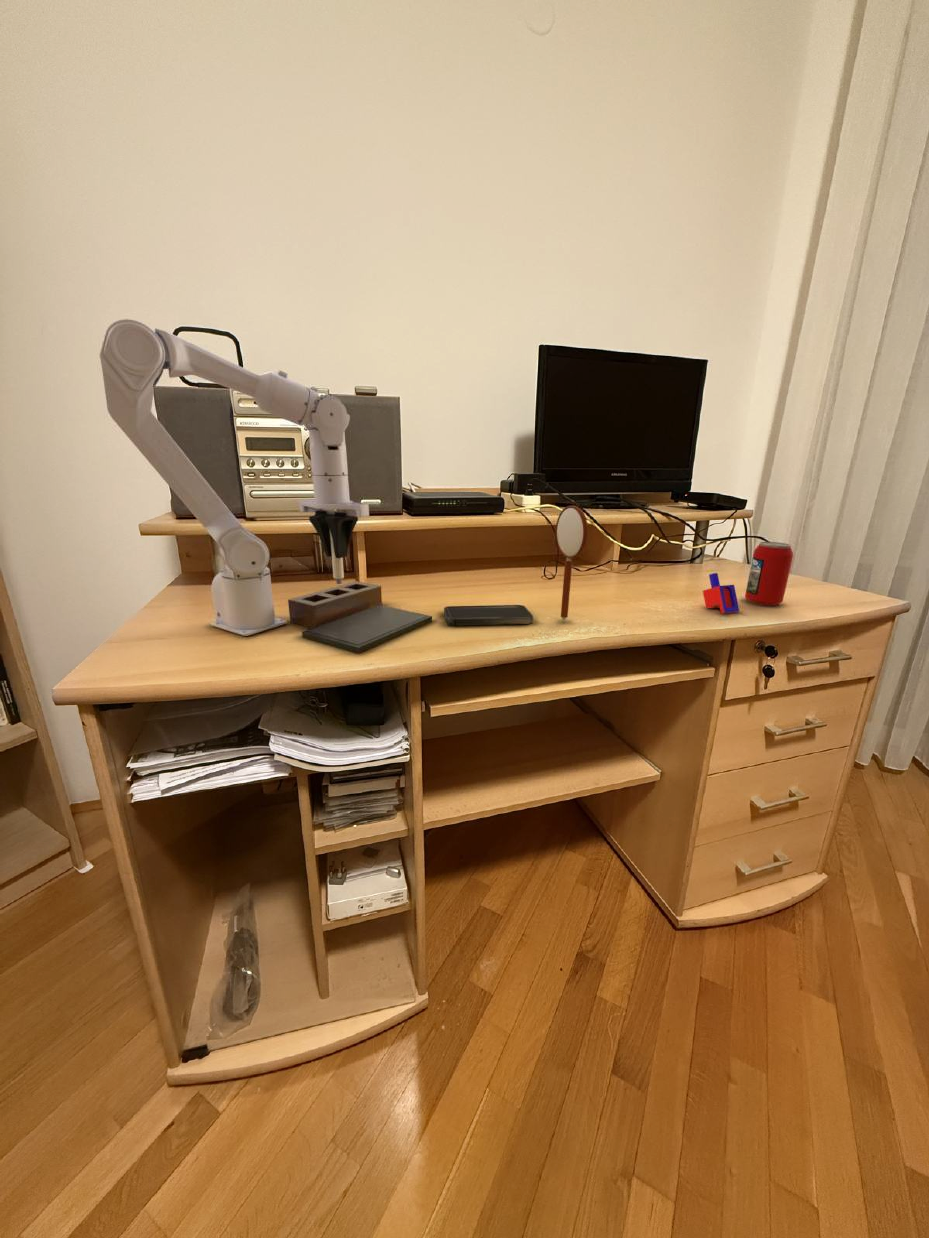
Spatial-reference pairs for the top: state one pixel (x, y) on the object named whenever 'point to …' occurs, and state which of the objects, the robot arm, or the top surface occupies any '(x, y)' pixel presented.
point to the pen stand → (333, 603)
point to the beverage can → (769, 573)
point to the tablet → (367, 628)
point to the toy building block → (721, 596)
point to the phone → (487, 615)
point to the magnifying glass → (570, 545)
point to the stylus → (336, 565)
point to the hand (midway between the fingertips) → (336, 556)
